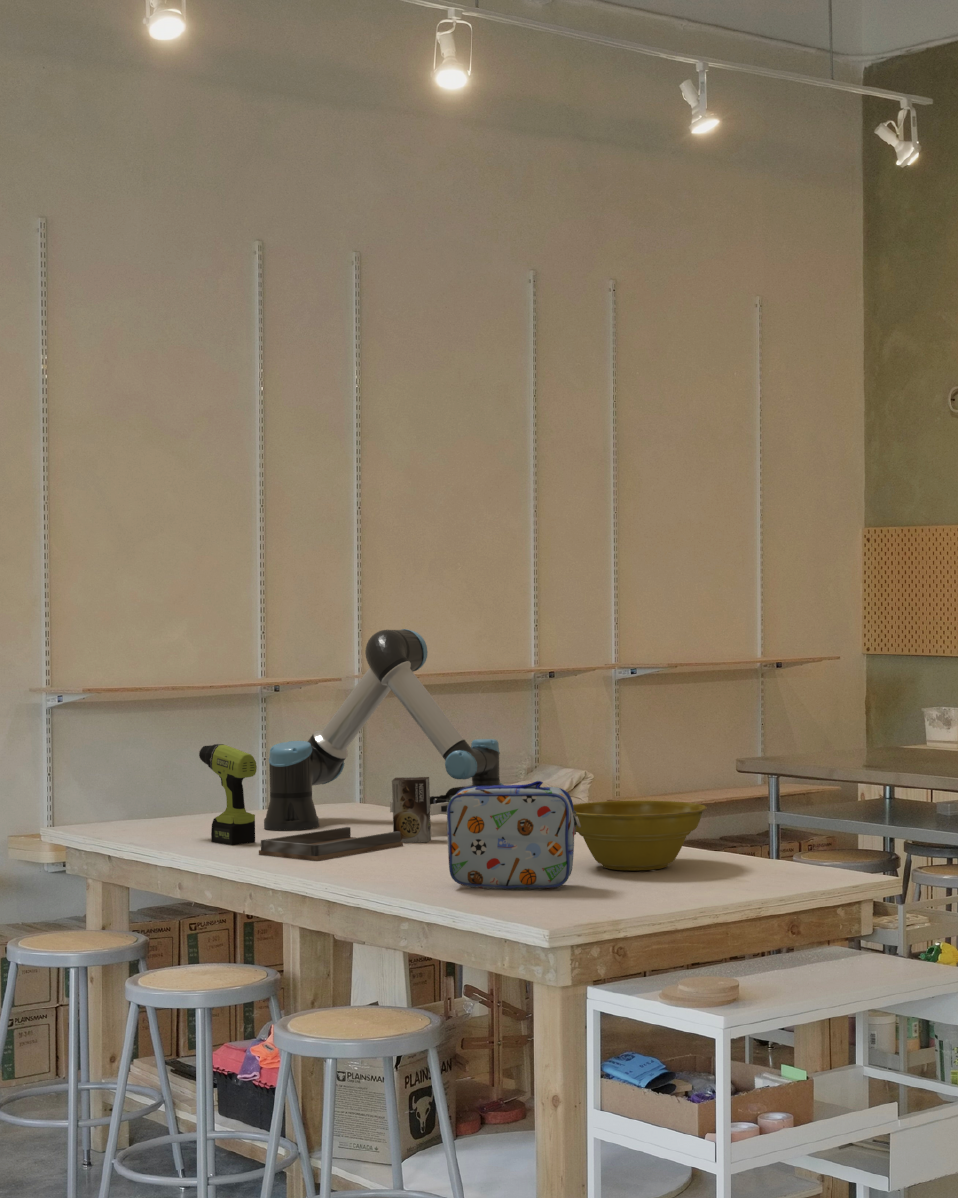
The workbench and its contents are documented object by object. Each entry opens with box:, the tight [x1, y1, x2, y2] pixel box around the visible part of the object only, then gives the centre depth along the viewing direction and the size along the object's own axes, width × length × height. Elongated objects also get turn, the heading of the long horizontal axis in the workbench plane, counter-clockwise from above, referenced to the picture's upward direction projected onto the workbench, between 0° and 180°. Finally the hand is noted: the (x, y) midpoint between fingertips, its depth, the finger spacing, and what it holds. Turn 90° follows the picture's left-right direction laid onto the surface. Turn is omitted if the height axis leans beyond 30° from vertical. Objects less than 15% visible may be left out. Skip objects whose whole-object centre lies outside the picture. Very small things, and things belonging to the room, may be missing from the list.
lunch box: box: [446, 780, 581, 890], centre depth 314 cm, size 28×10×22 cm, turn 81°
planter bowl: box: [573, 800, 708, 872], centre depth 339 cm, size 32×32×13 cm
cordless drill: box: [198, 743, 258, 846], centre depth 397 cm, size 23×7×25 cm, turn 42°
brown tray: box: [258, 826, 404, 862], centre depth 375 cm, size 20×30×4 cm, turn 141°
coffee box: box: [391, 776, 432, 844], centre depth 389 cm, size 9×6×16 cm
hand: (411, 808), depth 388 cm, fingers open, 13 cm apart
